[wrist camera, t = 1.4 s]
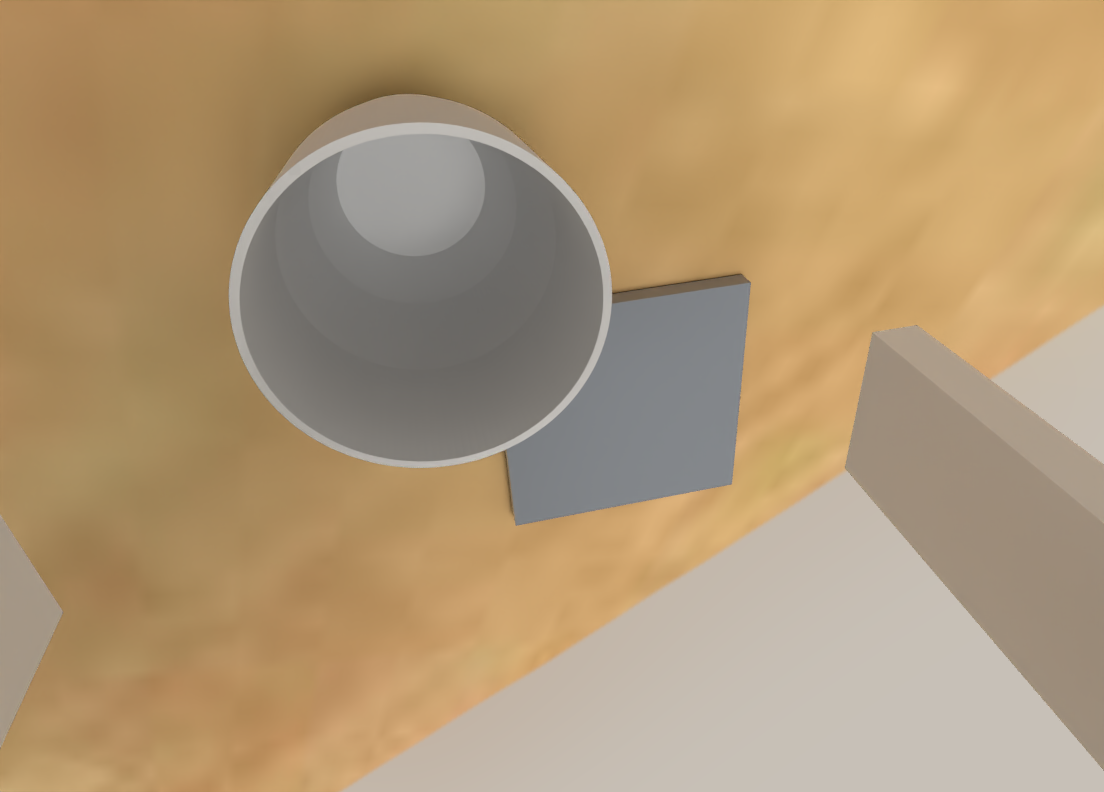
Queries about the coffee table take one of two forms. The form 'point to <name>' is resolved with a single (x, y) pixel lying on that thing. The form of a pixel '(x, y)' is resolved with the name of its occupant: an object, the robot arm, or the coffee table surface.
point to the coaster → (644, 407)
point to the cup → (419, 286)
